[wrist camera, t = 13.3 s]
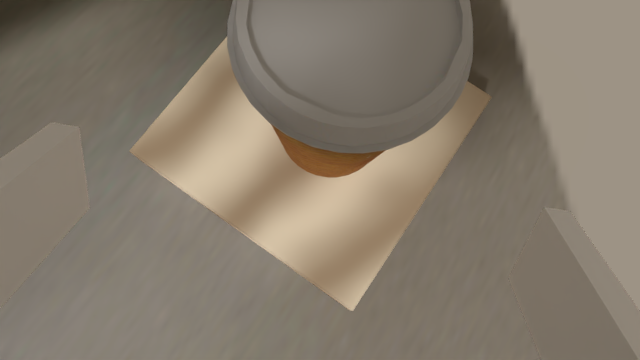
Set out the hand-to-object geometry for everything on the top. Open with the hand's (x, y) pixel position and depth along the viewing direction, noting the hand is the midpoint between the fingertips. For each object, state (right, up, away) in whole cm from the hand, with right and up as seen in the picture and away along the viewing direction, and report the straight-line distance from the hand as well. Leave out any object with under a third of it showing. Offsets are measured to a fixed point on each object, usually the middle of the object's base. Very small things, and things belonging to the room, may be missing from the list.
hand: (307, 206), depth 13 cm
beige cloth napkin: (0, +4, +17) cm, 17 cm away
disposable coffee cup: (+1, +4, +15) cm, 16 cm away
